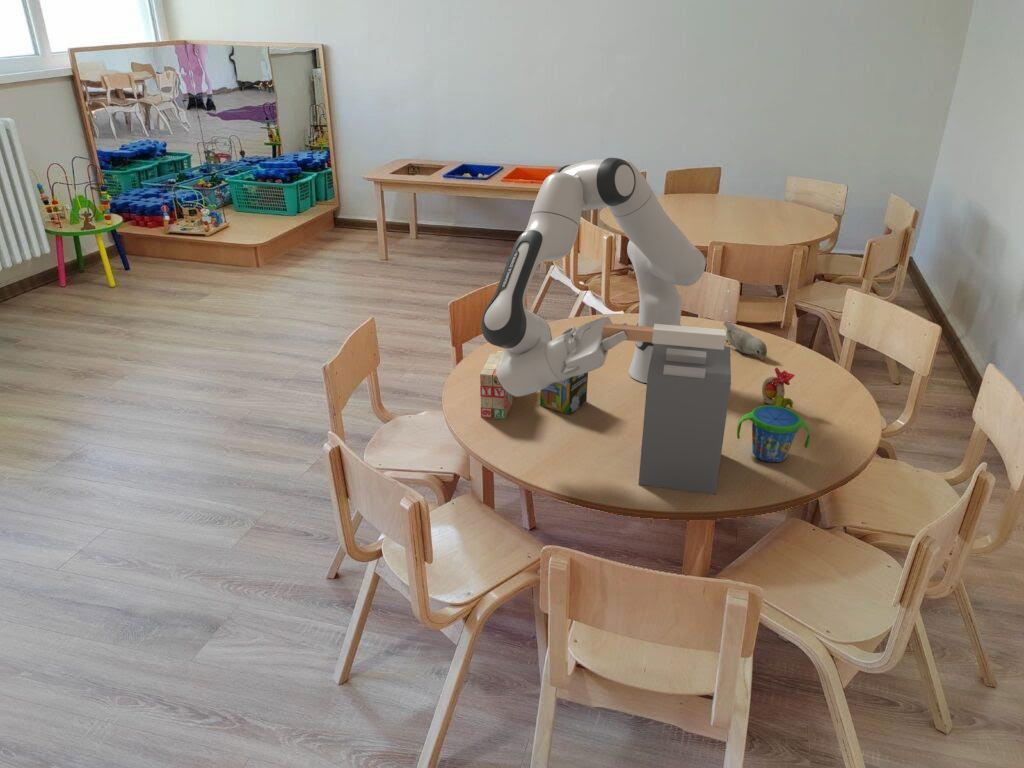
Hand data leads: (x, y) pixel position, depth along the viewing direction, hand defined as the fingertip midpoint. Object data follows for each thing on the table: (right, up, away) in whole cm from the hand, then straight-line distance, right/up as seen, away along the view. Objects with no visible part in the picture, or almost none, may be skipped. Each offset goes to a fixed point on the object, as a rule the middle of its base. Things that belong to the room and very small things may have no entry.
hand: (627, 330), depth 156 cm
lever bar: (+7, -2, -1) cm, 7 cm away
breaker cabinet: (+14, -29, +14) cm, 35 cm away
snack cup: (+35, -27, +19) cm, 48 cm away
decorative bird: (+45, -2, +71) cm, 84 cm away
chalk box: (-10, -16, +42) cm, 46 cm away
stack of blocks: (-26, -15, +44) cm, 53 cm away
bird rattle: (+43, -17, +40) cm, 61 cm away
